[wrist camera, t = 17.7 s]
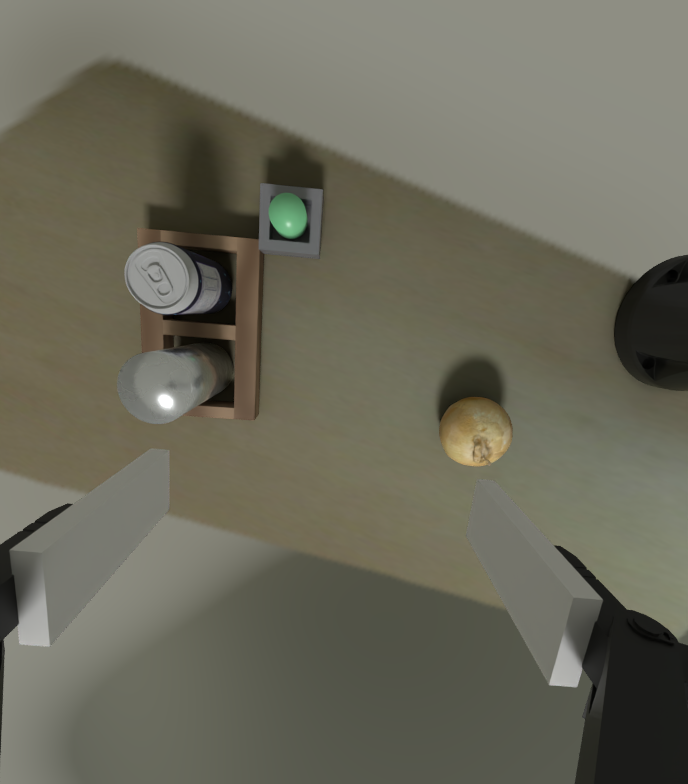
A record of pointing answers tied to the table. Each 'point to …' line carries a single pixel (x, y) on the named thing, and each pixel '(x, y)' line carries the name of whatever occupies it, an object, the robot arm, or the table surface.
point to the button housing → (311, 238)
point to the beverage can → (176, 280)
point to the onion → (475, 431)
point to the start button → (288, 215)
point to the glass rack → (244, 332)
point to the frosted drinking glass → (173, 380)
